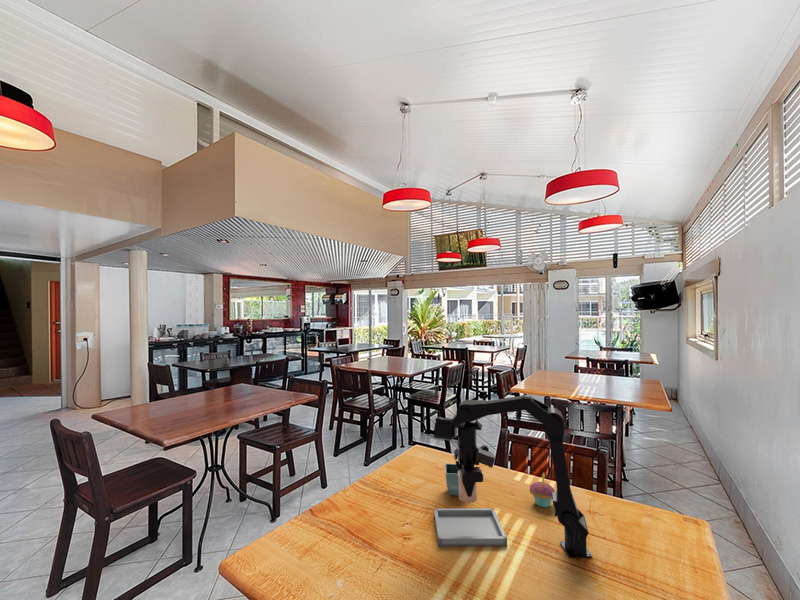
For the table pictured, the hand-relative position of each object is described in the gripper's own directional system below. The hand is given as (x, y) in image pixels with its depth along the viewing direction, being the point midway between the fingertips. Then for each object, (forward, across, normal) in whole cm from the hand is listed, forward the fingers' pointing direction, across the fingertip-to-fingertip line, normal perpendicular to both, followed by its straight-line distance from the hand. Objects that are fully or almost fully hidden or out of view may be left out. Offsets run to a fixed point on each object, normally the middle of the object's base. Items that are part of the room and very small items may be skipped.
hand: (467, 491), depth 115 cm
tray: (+12, 0, 0) cm, 12 cm away
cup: (+2, 0, 0) cm, 2 cm away
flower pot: (+12, +23, 0) cm, 26 cm away
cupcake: (+12, +15, -29) cm, 35 cm away
